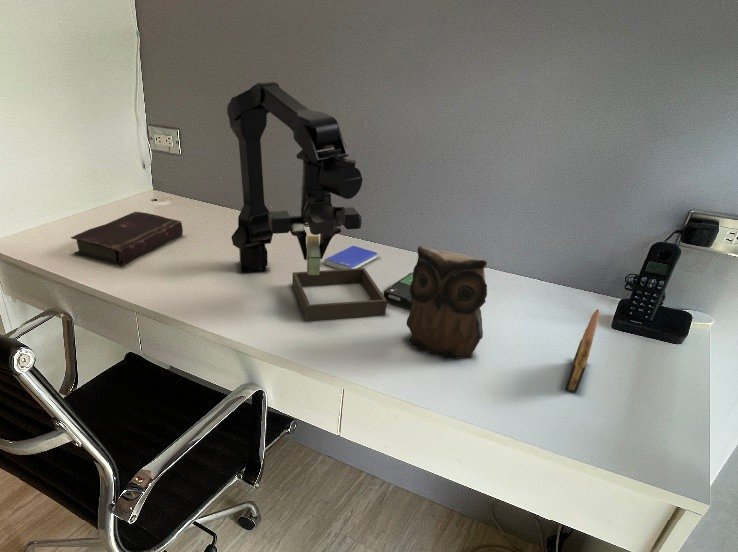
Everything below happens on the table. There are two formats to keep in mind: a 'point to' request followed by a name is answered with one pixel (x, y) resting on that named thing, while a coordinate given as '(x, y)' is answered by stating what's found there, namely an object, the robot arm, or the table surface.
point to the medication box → (313, 256)
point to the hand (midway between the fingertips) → (312, 258)
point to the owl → (447, 303)
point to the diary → (127, 238)
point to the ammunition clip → (582, 355)
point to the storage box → (344, 308)
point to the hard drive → (351, 258)
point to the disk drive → (400, 292)
